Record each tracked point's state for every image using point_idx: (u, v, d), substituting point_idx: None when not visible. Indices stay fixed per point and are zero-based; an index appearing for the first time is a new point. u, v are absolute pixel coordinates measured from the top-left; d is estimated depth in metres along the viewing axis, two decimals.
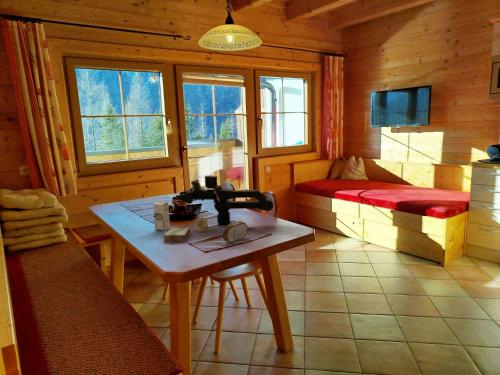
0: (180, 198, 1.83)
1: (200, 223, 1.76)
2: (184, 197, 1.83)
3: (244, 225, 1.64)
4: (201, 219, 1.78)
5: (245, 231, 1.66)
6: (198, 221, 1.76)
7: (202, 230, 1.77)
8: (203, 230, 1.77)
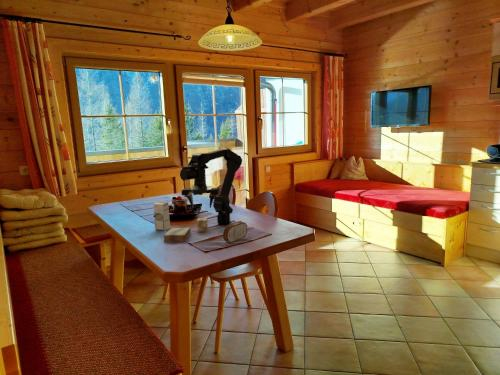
0: (212, 201, 1.77)
1: (200, 223, 1.76)
2: None
3: (244, 225, 1.64)
4: (201, 219, 1.78)
5: (245, 231, 1.66)
6: (198, 221, 1.76)
7: (202, 230, 1.77)
8: (203, 230, 1.77)
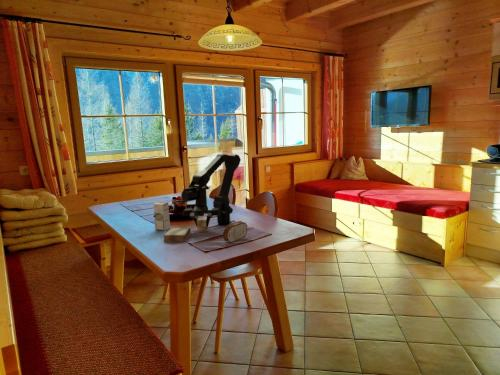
0: None
1: (200, 223, 1.76)
2: None
3: (244, 225, 1.64)
4: (201, 218, 1.78)
5: (245, 231, 1.66)
6: (198, 221, 1.76)
7: (202, 230, 1.77)
8: (203, 230, 1.77)
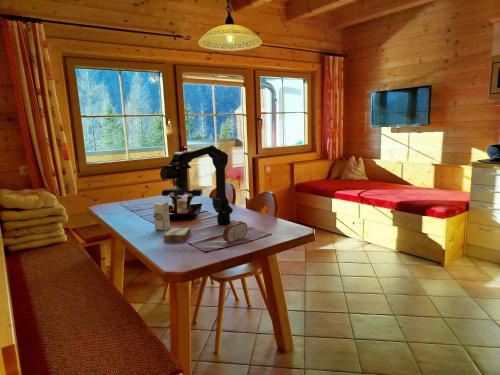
0: None
1: (180, 204, 1.66)
2: None
3: (244, 225, 1.64)
4: (181, 199, 1.68)
5: (245, 231, 1.66)
6: (178, 202, 1.65)
7: (182, 211, 1.66)
8: (183, 211, 1.66)
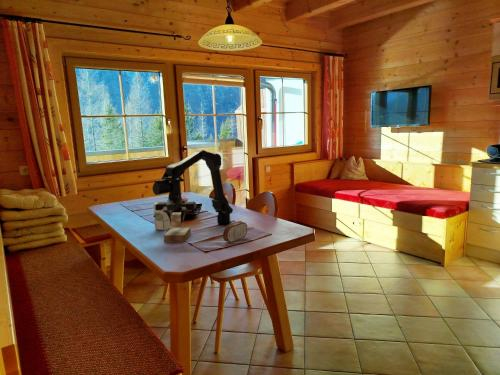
0: None
1: (174, 218, 1.64)
2: None
3: (244, 225, 1.64)
4: (175, 213, 1.66)
5: (245, 231, 1.66)
6: (172, 215, 1.64)
7: (176, 225, 1.64)
8: (177, 225, 1.64)
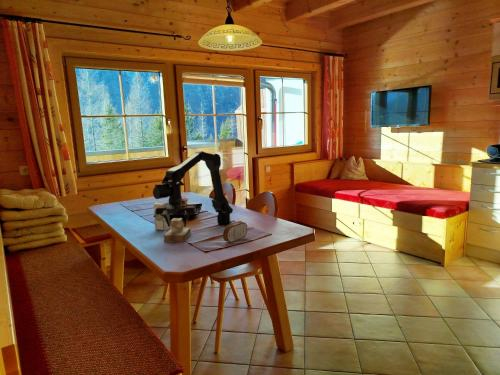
0: None
1: (174, 223, 1.64)
2: None
3: (244, 225, 1.64)
4: (176, 219, 1.66)
5: (245, 231, 1.66)
6: (172, 221, 1.64)
7: (176, 231, 1.65)
8: (177, 231, 1.65)
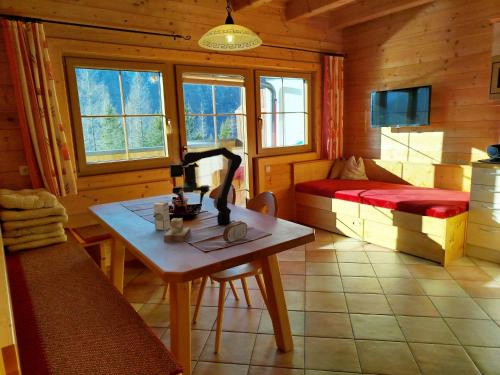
0: (202, 198, 1.82)
1: (174, 223, 1.64)
2: None
3: (244, 225, 1.64)
4: (176, 219, 1.66)
5: (245, 231, 1.66)
6: (172, 221, 1.64)
7: (176, 231, 1.65)
8: (177, 231, 1.65)
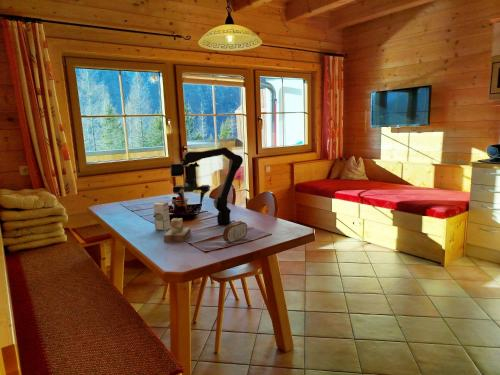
0: (202, 198, 1.83)
1: (174, 223, 1.64)
2: (202, 194, 1.82)
3: (244, 225, 1.64)
4: (176, 219, 1.66)
5: (245, 231, 1.66)
6: (172, 221, 1.64)
7: (176, 231, 1.65)
8: (177, 231, 1.65)
